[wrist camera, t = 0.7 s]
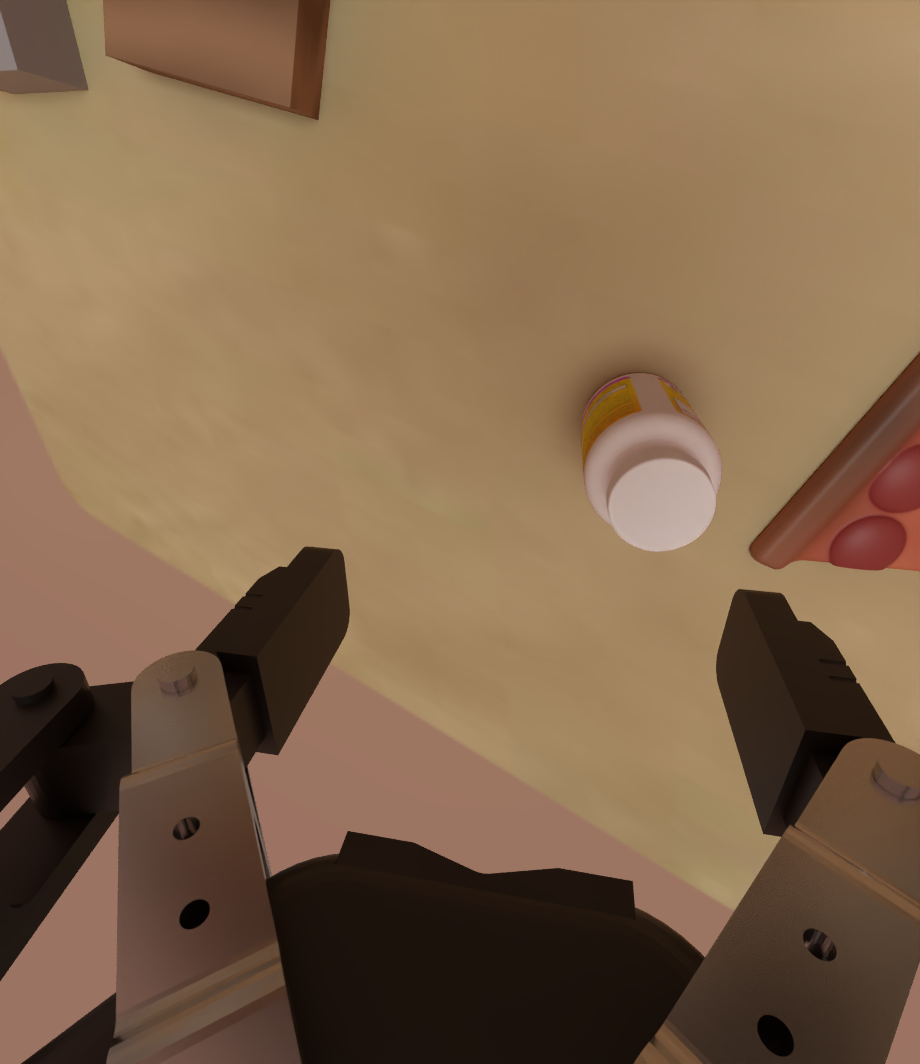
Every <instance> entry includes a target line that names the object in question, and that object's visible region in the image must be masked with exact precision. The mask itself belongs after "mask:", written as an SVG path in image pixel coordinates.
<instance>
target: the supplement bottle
mask: <svg viewBox="0 0 920 1064" xmlns="http://www.w3.org/2000/svg"><path fill="white" fill-rule="evenodd" d="M581 441H582V457H583V472H584V483H585V489H586V493H587V496H588V499H589V501H590V503H591V505H592V507H593V508H594V510H595V511H596V513H597V514H598V515H599V516H600V517H601V518H602V519H603V520H604V521H605V522H606V523H608V524H609V525H611V526H612V527H613V528H614V530H615V531H616V533H617V534H618V535H619V536H620V537H621V538H622V539H623V540H624V541H626V542H627V543H629V544H630V545H632V546H634V547H637V548H640V549H643V550H648V551H669V550H673V549H677V548H680V547H682V546H685V545H687V544H689V543H691V542H692V541H694V540H695V539H696V538H698V537H699V536H700V535H701V534H702V533H703V532H704V531H705V530H706V528H707V527H708V526H709V524H710V522H711V520H712V518H713V516H714V513H715V509H716V495H717V492H718V490H719V486H720V483H721V477H722V462H721V457H720V453H719V450H718V448H717V446H716V444H715V442H714V440H713V439H712V437H711V435H710V434H709V433H708V431H707V430H706V428H705V427H704V426H703V424H702V423H701V421H700V420H699V418H698V417H697V415H696V414H695V412H694V411H693V409H692V408H691V406H690V405H689V403H688V402H687V400H686V399H685V397H684V396H683V395H682V393H681V392H680V391H679V390H678V389H677V388H676V387H675V386H674V385H673V384H672V383H670V382H669V381H667V380H665V379H663V378H661V377H659V376H656V375H652V374H647V373H633V374H627V375H623V376H620V377H617V378H615V379H613V380H611V381H609V382H608V383H606V384H605V385H603V386H602V387H601V388H600V389H599V390H598V391H597V392H596V393H595V394H594V395H593V396H592V398H591V399H590V401H589V402H588V404H587V406H586V408H585V411H584V413H583V417H582V423H581Z"/></svg>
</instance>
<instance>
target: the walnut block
mask: <svg viewBox="0 0 920 1064" xmlns="http://www.w3.org/2000/svg"><path fill="white" fill-rule="evenodd" d="M329 8H330V0H103V9H104V30H105V50H106V56H109V57H112V58H114V59H117V60H120V61H122V62H125V63H128V64H130V65H133V66H136V67H138V68H141V69H144V70H146V71H149V72H152V73H155V74H159V75H162V76H166V77H169V78H173V79H176V80H180V81H183V82H187V83H190V84H194V85H197V86H201V87H204V88H208V89H211V90H215V91H218V92H222V93H225V94H229V95H232V96H236V97H239V98H243V99H246V100H250V101H253V102H257V103H260V104H264V105H267V106H271V107H274V108H278V109H281V110H285V111H288V112H292V113H295V114H299V115H302V116H306V117H309V118H313V119H316V120H318V118H319V108H320V98H321V88H322V78H323V68H324V58H325V48H326V38H327V28H328V18H329Z"/></svg>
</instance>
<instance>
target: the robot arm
mask: <svg viewBox="0 0 920 1064" xmlns="http://www.w3.org/2000/svg"><path fill="white" fill-rule="evenodd" d="M349 615H350V609H349V599H348V590H347V581H346V572H345V563H344V557H343V554H342V552H341V551H340V550H338V549H328V548H317V547H304V548H303V549H302V550H301V551H300V552H299V553H298V555H297V556H296V557H295V558H294V559H293V561H292V562H291V563H290V564H289V565H288V567H278V568H276V569H274V570H273V571H271V572H269V573H268V574H266V575H264V576H262V577H261V578H259V579H258V580H257V581H256V582H255V584H254V585H253V586H252V587H251V588H250V589H249V590H248V591H247V593H246V596H245V597H244V596H243V597H242V598H241V599H240V600H239V602H238V603H237V604H236V605H235V608H234V609H231V610H230V612H229V613H228V614H227V615H226V616H225V617H224V618H223V620H222V621H221V622H220V623H219V624H218V625H217V626H216V628H214V630H213V631H212V632H211V633H210V634H209V635H208V636H207V637H206V639H205V640H204V641H203V642H202V643H201V644H200V645H199V646H198V647H197V649H196V650H195V651H183V652H178V653H174V654H171V655H168V656H166V657H164V658H161V659H159V660H157V661H155V662H154V663H152V664H151V665H149V666H148V667H146V668H145V669H144V670H143V671H142V672H141V673H140V674H139V675H138V676H137V677H136V679H135V681H134V682H125V683H116V684H107V685H99V686H89V685H88V682H87V680H86V677H85V675H84V673H83V671H82V670H81V669H80V668H79V667H78V666H75V665H73V664H67V663H54V664H48V665H42V666H39V667H35V668H32V669H29V670H27V671H25V672H22V673H20V674H18V675H16V676H14V677H12V678H10V679H9V680H7V681H6V682H4V683H3V684H1V685H0V812H1V811H2V810H3V808H4V807H5V806H6V805H7V804H8V803H9V802H10V801H11V800H12V799H13V797H14V796H15V795H16V794H17V793H18V792H19V791H20V790H21V789H22V788H23V786H25V788H26V790H27V792H28V794H29V796H30V797H29V798H28V800H27V801H26V802H25V803H24V804H23V805H22V806H21V808H20V809H19V810H18V811H17V812H16V813H15V814H14V815H13V817H12V818H11V819H10V820H9V821H8V822H7V824H6V825H5V826H4V827H3V828H2V829H1V830H0V981H1V979H2V978H3V977H4V975H5V974H6V972H7V971H8V970H9V968H10V967H11V965H12V964H13V962H14V961H15V959H16V958H17V957H18V955H19V954H20V952H21V951H22V950H23V948H24V947H25V945H26V944H27V943H28V941H29V940H30V938H31V937H32V935H33V934H34V933H35V931H36V930H37V928H38V927H39V926H40V924H41V923H42V921H43V920H44V919H45V917H46V916H47V914H48V913H49V911H50V910H51V909H52V907H53V906H54V904H55V903H56V902H57V900H58V899H59V897H60V896H61V895H62V893H63V892H64V890H65V889H66V887H67V886H68V884H69V883H70V882H71V880H72V879H73V878H74V876H75V874H76V873H77V872H78V870H79V869H80V868H81V866H82V865H83V863H84V862H85V861H86V859H87V858H88V856H89V855H90V853H91V852H92V851H93V849H94V848H95V846H96V845H97V844H98V842H99V841H100V839H101V838H102V836H103V835H104V834H105V832H106V831H107V829H108V828H109V827H110V825H111V823H112V822H113V821H114V819H115V818H116V817H117V815H118V814H119V847H118V853H119V854H118V914H117V915H118V917H117V981H116V993H115V994H113V995H112V996H110V997H109V998H108V999H106V1000H105V1001H104V1002H102V1003H101V1004H100V1005H99V1006H97V1007H96V1008H94V1009H93V1010H92V1011H91V1012H89V1013H88V1014H86V1015H85V1016H84V1017H82V1018H81V1019H80V1020H78V1021H77V1022H76V1023H74V1024H73V1025H72V1026H71V1027H69V1028H68V1029H66V1030H65V1031H64V1032H62V1033H61V1034H60V1035H59V1036H57V1037H56V1038H55V1039H53V1040H52V1041H51V1042H50V1043H48V1044H47V1045H45V1046H44V1047H43V1048H41V1049H40V1050H39V1051H37V1052H36V1053H35V1054H33V1055H32V1056H31V1057H29V1058H28V1059H27V1060H25V1061H24V1062H23V1063H21V1064H885V1062H886V1060H887V1057H888V1054H889V1051H890V1047H891V1045H892V1042H893V1039H894V1036H895V1033H896V1030H897V1027H898V1024H899V1021H900V1018H901V1015H902V1012H903V1009H904V1007H905V1004H906V1001H907V998H908V995H909V992H910V989H911V986H912V983H913V980H914V977H915V974H916V971H917V968H918V965H919V962H920V754H918V753H916V752H914V751H912V750H910V749H908V748H906V747H904V746H901V745H898V744H896V743H895V742H894V740H893V738H892V737H891V735H890V733H889V732H888V730H887V728H886V727H885V725H884V723H883V722H882V720H881V718H880V717H879V715H878V714H877V712H876V710H875V709H874V707H873V705H872V704H871V702H870V700H869V699H868V697H867V695H866V694H865V692H864V691H863V689H862V687H861V686H860V684H859V683H856V677H855V676H854V674H853V672H852V671H851V669H850V667H849V666H846V661H845V659H844V658H843V656H842V654H841V653H840V651H839V649H838V648H837V646H836V644H835V643H834V641H833V640H832V639H830V638H829V637H828V636H827V635H826V634H824V633H823V632H822V631H821V630H819V629H818V628H817V627H816V626H815V625H813V624H812V623H811V622H804V621H798V620H797V618H796V617H795V615H794V613H793V611H792V609H791V608H790V606H789V604H788V602H787V600H786V598H785V597H784V595H783V594H781V593H775V592H765V591H754V590H744V589H739V590H737V591H736V592H735V594H734V596H733V599H732V603H731V606H730V610H729V613H728V617H727V621H726V624H725V628H724V631H723V635H722V638H721V642H720V646H719V649H718V654H717V661H716V674H717V682H718V686H719V689H720V692H721V696H722V699H723V702H724V706H725V709H726V712H727V715H728V719H729V722H730V725H731V729H732V732H733V735H734V739H735V742H736V745H737V749H738V752H739V755H740V758H741V762H742V765H743V768H744V772H745V775H746V778H747V782H748V785H749V788H750V792H751V795H752V798H753V802H754V805H755V808H756V811H757V815H758V818H759V821H760V825H761V828H762V831H763V834H767V835H774V836H780V837H781V839H780V840H779V842H778V843H777V845H776V847H775V848H774V850H773V851H772V853H771V854H770V856H769V858H768V859H767V861H766V862H765V864H764V865H763V867H762V869H761V870H760V872H759V873H758V875H757V877H756V878H755V880H754V881H753V883H752V884H751V886H750V888H749V889H748V891H747V892H746V894H745V895H744V897H743V899H742V900H741V902H740V903H739V905H738V906H737V908H736V910H735V911H734V913H733V914H732V916H731V918H730V919H729V921H728V922H727V924H726V925H725V927H724V929H723V930H722V932H721V933H720V935H719V936H718V938H717V940H716V941H715V943H714V944H713V946H712V948H711V949H710V951H709V952H708V954H707V955H706V957H704V956H703V955H702V954H701V953H700V952H699V951H698V950H697V949H695V947H693V946H692V945H691V944H690V943H689V942H688V941H687V940H686V939H685V938H684V937H682V936H681V935H680V934H678V933H677V932H675V931H674V930H673V929H672V928H670V927H669V926H668V925H666V924H665V923H663V922H662V921H660V920H658V919H656V918H655V917H653V916H651V915H649V914H648V913H646V912H644V911H642V910H640V909H638V908H635V904H634V892H633V881H629V880H623V879H617V878H612V877H605V876H600V875H595V874H589V873H583V872H577V871H572V870H566V869H560V868H555V869H542V870H530V871H518V872H507V873H495V874H494V873H493V874H482V873H478V872H476V871H473V870H471V869H469V868H467V867H465V866H463V865H460V864H458V863H456V862H454V861H452V860H450V859H448V858H445V857H443V856H441V855H439V854H437V853H435V852H433V851H430V850H428V849H426V848H424V847H422V846H420V845H418V844H416V843H413V842H407V841H401V840H396V839H390V838H384V837H379V836H373V835H367V834H362V833H356V832H350V831H348V832H347V835H346V837H345V840H344V842H343V845H342V848H341V850H340V853H339V854H332V855H327V856H322V857H317V858H313V859H310V860H307V861H304V862H301V863H298V864H296V865H294V866H292V867H289V868H287V869H285V870H283V871H280V872H279V873H277V874H275V875H274V876H272V873H271V869H270V865H269V860H268V856H267V852H266V847H265V842H264V838H263V833H262V829H261V824H260V820H259V815H258V811H257V806H256V801H255V797H254V792H253V788H252V783H251V779H250V774H249V770H248V764H249V762H250V761H251V759H252V757H253V756H254V754H255V752H260V753H267V754H274V755H278V754H279V753H280V751H281V749H282V747H283V746H284V744H285V742H286V740H287V738H288V737H289V735H290V733H291V731H292V729H293V728H294V726H295V724H296V722H297V721H298V719H299V717H300V715H301V713H302V712H303V710H304V708H305V706H306V704H307V703H308V701H309V699H310V697H311V696H312V694H313V692H314V690H315V689H316V687H317V685H318V683H319V681H320V680H321V678H322V676H323V674H324V673H325V670H326V669H327V667H328V665H329V664H330V662H331V660H332V658H333V656H334V655H335V653H336V651H337V649H338V648H339V646H340V644H341V642H342V640H343V639H344V637H345V634H346V632H347V628H348V623H349Z"/></svg>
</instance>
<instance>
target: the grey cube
mask: <svg viewBox="0 0 920 1064" xmlns="http://www.w3.org/2000/svg"><path fill="white" fill-rule="evenodd" d="M82 90H88V86H87V82H86V78H85V74H84V70H83V66H82V62H81V58H80V54H79V50H78V46H77V42H76V38H75V34H74V30H73V26H72V22H71V18H70V14H69V10H68V6H67V2H66V0H0V91H4V92H8V93H12V94H26V93H45V92H63V91H82Z"/></svg>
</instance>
